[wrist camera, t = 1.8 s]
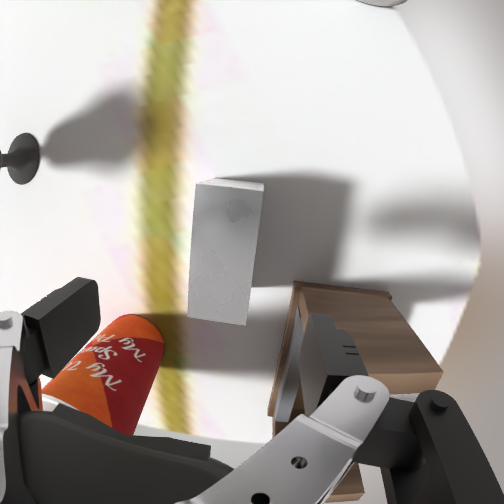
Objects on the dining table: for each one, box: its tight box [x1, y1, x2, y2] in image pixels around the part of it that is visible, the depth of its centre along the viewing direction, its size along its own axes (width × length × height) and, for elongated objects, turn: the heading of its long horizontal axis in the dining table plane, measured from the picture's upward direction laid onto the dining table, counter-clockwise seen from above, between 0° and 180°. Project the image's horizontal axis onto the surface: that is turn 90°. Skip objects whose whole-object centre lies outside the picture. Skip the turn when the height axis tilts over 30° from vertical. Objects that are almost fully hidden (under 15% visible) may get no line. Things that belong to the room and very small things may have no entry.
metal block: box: [188, 178, 265, 326], centre depth 20 cm, size 8×4×6 cm, turn 173°
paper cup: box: [41, 314, 165, 435], centre depth 19 cm, size 8×8×14 cm
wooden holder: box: [268, 281, 443, 503], centre depth 20 cm, size 14×8×11 cm, turn 173°
